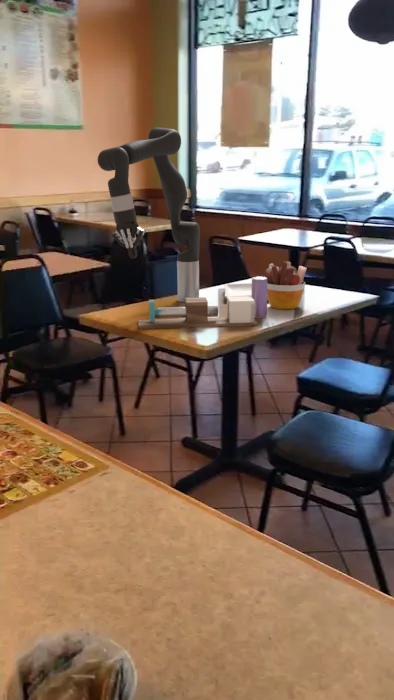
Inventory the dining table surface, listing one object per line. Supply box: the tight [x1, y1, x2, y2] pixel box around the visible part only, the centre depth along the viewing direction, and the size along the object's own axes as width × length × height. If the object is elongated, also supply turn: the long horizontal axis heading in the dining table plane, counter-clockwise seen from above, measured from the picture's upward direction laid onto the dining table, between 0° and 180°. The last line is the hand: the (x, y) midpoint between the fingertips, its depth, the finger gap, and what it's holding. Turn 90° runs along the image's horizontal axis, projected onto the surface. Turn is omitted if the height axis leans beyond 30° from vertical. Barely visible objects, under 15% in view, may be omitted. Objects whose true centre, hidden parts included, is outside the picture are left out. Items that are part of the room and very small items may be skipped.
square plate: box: [224, 282, 269, 303], centre depth 281 cm, size 27×27×4 cm
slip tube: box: [148, 299, 219, 321], centre depth 232 cm, size 25×5×7 cm, turn 94°
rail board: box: [138, 296, 258, 330], centre depth 233 cm, size 10×43×9 cm, turn 94°
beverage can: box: [251, 276, 268, 319], centre depth 242 cm, size 6×6×15 cm
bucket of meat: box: [264, 261, 307, 311], centre depth 257 cm, size 20×16×20 cm
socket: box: [226, 296, 255, 323], centre depth 234 cm, size 9×9×8 cm
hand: (133, 257), depth 224 cm, fingers closed
